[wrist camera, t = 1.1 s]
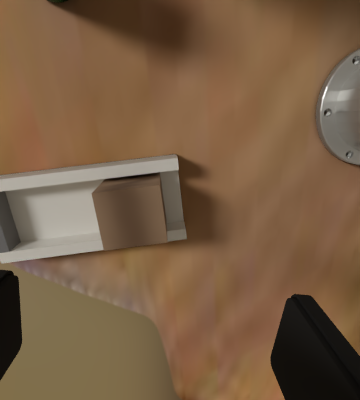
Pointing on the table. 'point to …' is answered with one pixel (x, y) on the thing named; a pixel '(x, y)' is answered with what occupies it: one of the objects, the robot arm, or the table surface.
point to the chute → (73, 207)
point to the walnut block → (130, 211)
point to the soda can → (57, 0)
